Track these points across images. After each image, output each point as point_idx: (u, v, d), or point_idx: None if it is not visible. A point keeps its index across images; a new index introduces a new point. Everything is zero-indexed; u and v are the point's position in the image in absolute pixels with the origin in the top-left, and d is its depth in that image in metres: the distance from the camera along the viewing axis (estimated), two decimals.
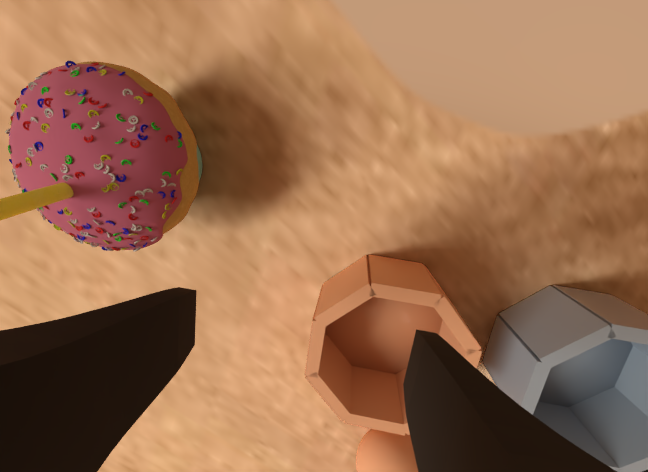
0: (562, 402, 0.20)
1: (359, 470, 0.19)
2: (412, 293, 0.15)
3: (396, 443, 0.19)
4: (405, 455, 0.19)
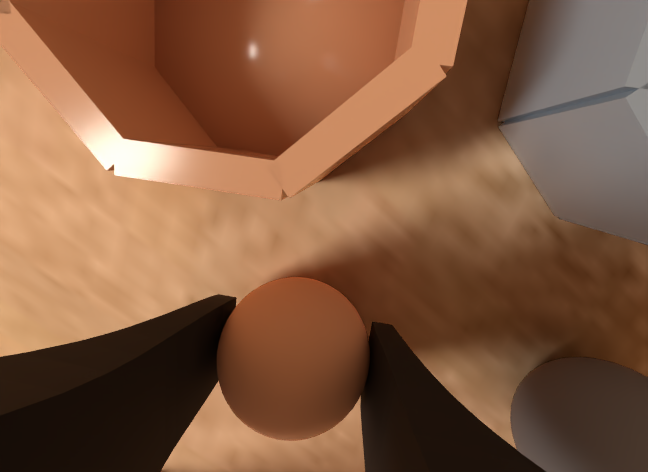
0: None
1: None
2: None
3: (299, 290, 0.08)
4: (315, 310, 0.08)
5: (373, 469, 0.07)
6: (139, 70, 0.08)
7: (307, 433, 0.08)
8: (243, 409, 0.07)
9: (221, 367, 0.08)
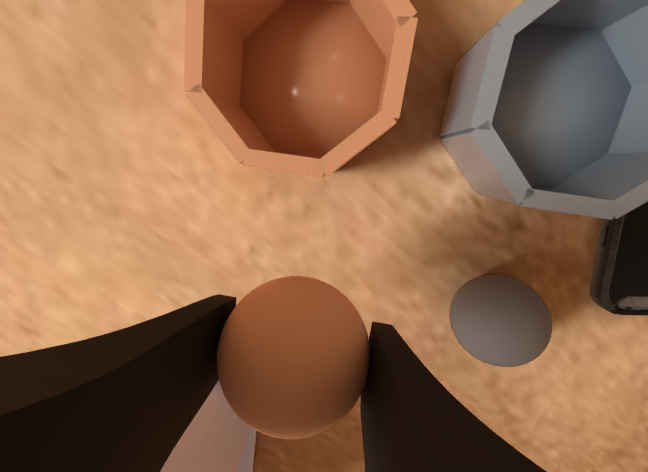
0: (541, 183, 0.15)
1: None
2: None
3: (299, 289, 0.08)
4: (315, 309, 0.08)
5: (373, 469, 0.07)
6: (237, 109, 0.15)
7: (307, 432, 0.08)
8: (243, 408, 0.07)
9: (221, 366, 0.08)
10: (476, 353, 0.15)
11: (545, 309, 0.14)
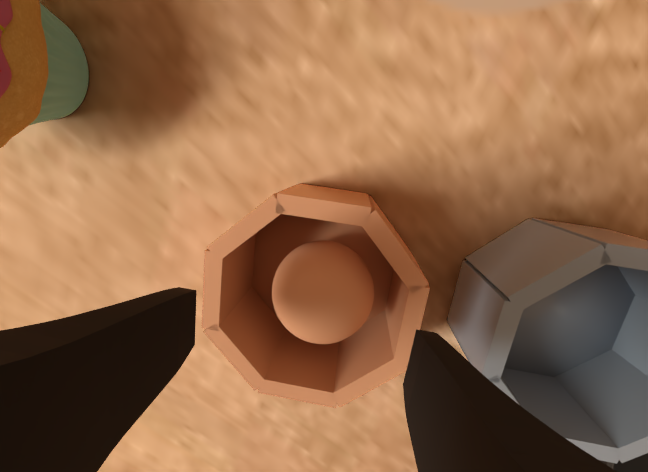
0: (546, 370, 0.16)
1: (275, 295, 0.12)
2: (332, 207, 0.11)
3: (329, 246, 0.13)
4: (343, 256, 0.12)
5: None
6: (250, 304, 0.15)
7: (344, 333, 0.12)
8: (304, 321, 0.12)
9: (284, 298, 0.12)
10: None
11: None
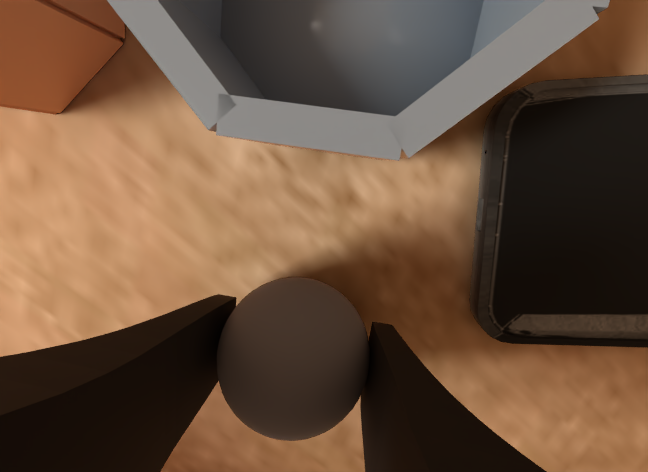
0: None
1: None
2: None
3: None
4: None
5: (373, 469, 0.07)
6: None
7: None
8: None
9: None
10: None
11: (343, 340, 0.08)
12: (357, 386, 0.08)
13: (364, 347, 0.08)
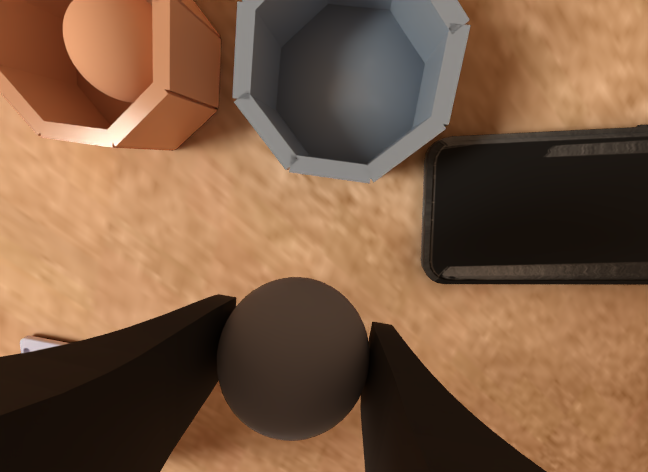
0: (357, 156, 0.16)
1: (63, 29, 0.12)
2: None
3: None
4: None
5: (373, 469, 0.07)
6: (64, 88, 0.16)
7: (142, 65, 0.13)
8: (94, 40, 0.12)
9: (70, 22, 0.12)
10: None
11: (343, 340, 0.08)
12: (357, 386, 0.08)
13: (364, 347, 0.08)
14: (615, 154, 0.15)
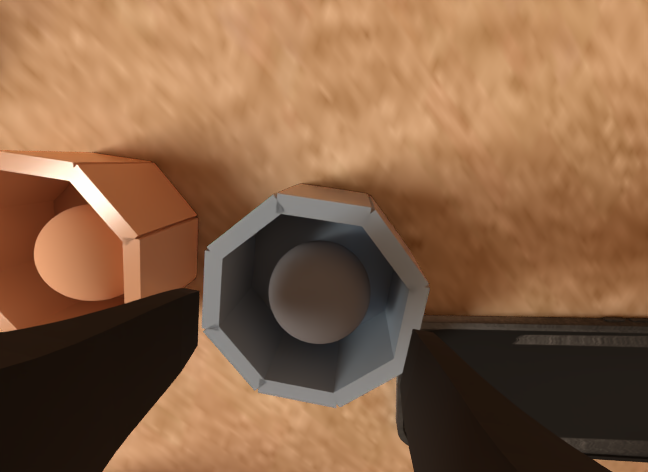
0: None
1: (34, 257, 0.13)
2: (40, 162, 0.12)
3: None
4: None
5: None
6: None
7: (108, 285, 0.13)
8: (59, 276, 0.12)
9: (38, 258, 0.12)
10: (287, 331, 0.12)
11: (357, 274, 0.12)
12: (366, 304, 0.12)
13: (368, 281, 0.13)
14: (582, 346, 0.15)
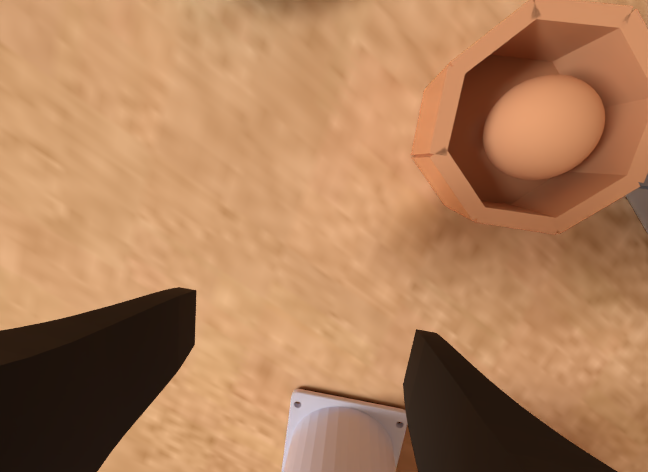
0: None
1: (518, 119, 0.12)
2: (591, 8, 0.11)
3: None
4: (581, 81, 0.13)
5: None
6: None
7: (588, 152, 0.12)
8: (565, 133, 0.12)
9: (539, 115, 0.12)
10: None
11: None
12: None
13: None
14: None
